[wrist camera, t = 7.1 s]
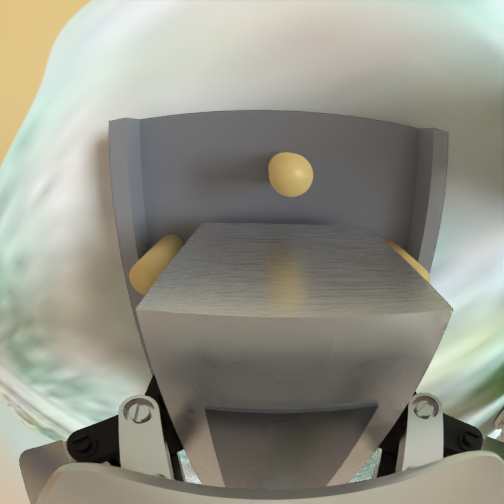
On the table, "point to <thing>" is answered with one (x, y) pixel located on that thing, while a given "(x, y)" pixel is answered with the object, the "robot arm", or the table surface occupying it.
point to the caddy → (270, 181)
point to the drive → (288, 349)
